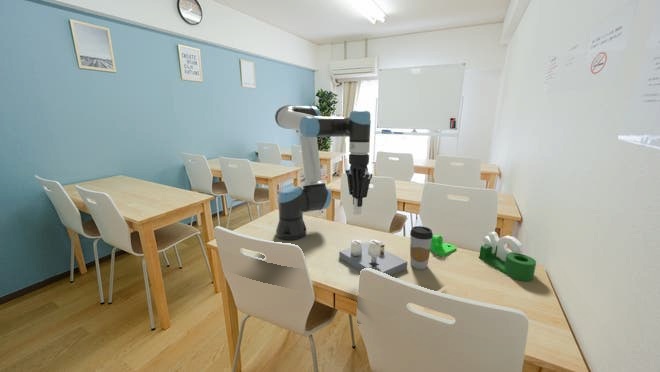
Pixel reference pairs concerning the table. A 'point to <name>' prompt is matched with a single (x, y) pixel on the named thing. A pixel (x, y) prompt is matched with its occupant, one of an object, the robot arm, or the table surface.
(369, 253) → the knob
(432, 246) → the mechanical part
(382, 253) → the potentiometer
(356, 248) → the knob
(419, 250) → the coffee cup
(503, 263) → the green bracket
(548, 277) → the table surface
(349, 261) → the plate
